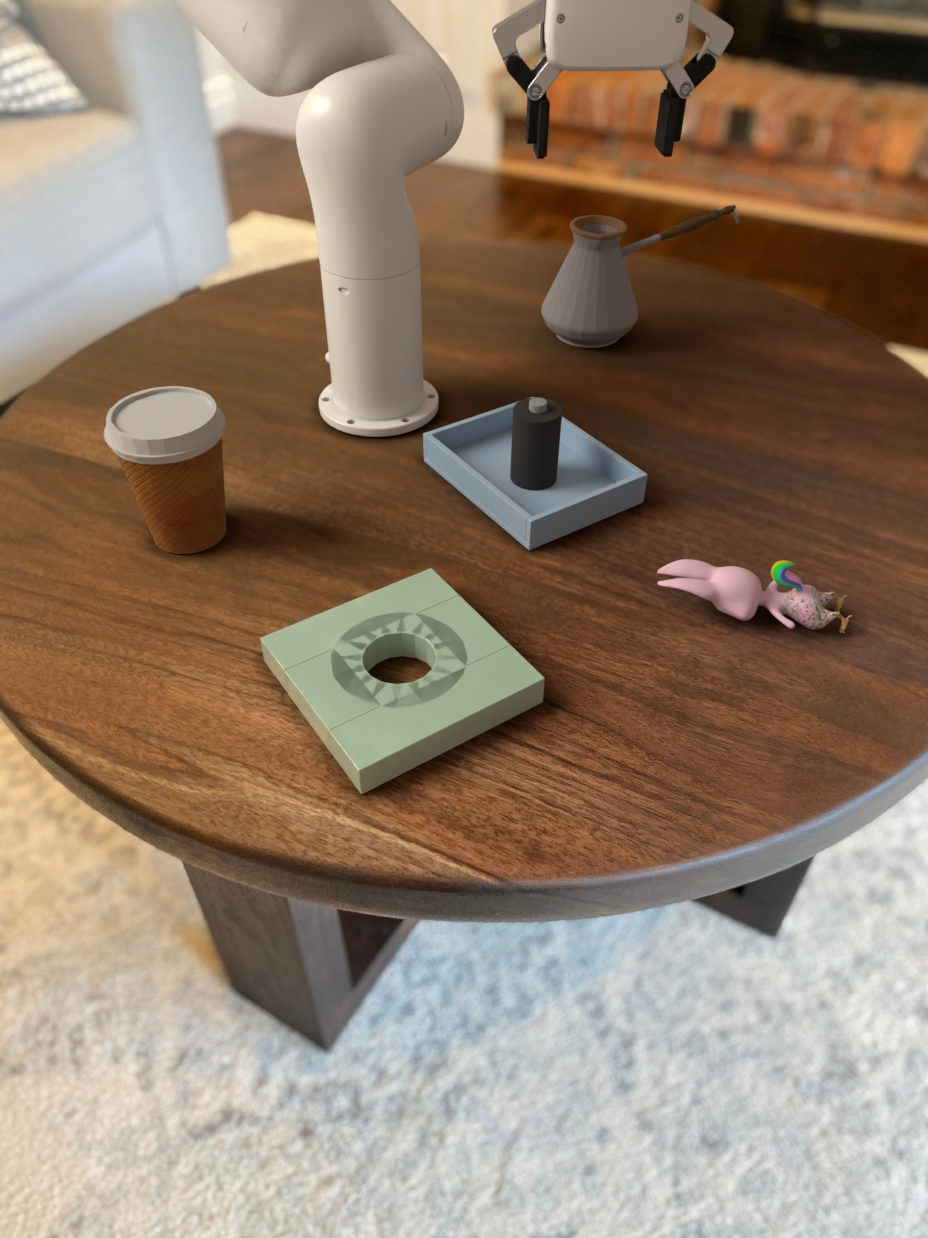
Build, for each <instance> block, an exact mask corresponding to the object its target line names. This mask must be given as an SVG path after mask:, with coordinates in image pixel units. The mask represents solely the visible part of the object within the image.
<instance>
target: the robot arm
mask: <svg viewBox="0 0 928 1238" xmlns="http://www.w3.org/2000/svg"><path fill="white" fill-rule="evenodd" d="M171 2H172V3H173V4H174V5H175V6H176V8H177V9H178V10H179V11H180V12H181V13H182V15H183V16H184V17H185V18H186V19H187V20H188V21H189V22H190V23H191V24H192V25H193V27H195V28H196V30H197V31H198V32H199V33H200V34H201V35H202V36H203V37H204V38H205V39H206V40H207V41H208V43H210V44H211V46H213V48H214V49H215V50H216V51H217V52H218V53H219V54H220V55H221V57H223V58H224V59H225V60H226V62H227V63H228V64H229V65H230V66H231V67H232V68H233V69H234V70H235V71H236V72H237V73H238V74H239V75H240V76H241V77H242V78H243V80H244V81H246V82H247V83H248V84H249V85H250V86H252V88H254V89H255V90H256V91H258V92H259V93H261V94H263V95H266V96H269V97H274V98H275V97H276V98H281V97H288V96H289V97H290V96H292V95H297V94H300V93H303V92H306V91H308V93H307V95H306V96H305V98H303V101H302V103H301V105H300V107H299V110H298V113H297V117H296V123H295V140H296V141H295V142H296V147H297V153H298V157H299V160H300V165H301V169H302V171H303V176H304V179H305V182H306V185H307V189H308V194H309V197H310V203H311V207H312V213H313V218H314V219H313V220H314V226H315V233H316V240H317V241H316V242H317V250H318V261H319V269H320V279H321V288H322V298H323V300H322V301H323V310H324V319H325V320H324V321H325V329H326V330H325V331H326V340H327V350H328V351H327V352H326V353H325V356H324V359H325V361H326V362H327V363H328V364H329V371H330V380H331V381H330V383H329V384H328V385H327V386H326V387H325V388H324V389H323V390H322V392H321V393H320V395H319V397H318V410H319V415H320V416H321V418H322V420H323V421H324V422H326V424H327V425H329V426H330V427H332V428H334V429H335V430H338V431H340V432H343V433H345V434H349V435H353V436H358V437H359V436H360V437H367V438H372V437H373V438H382V437H384V438H385V437H392V436H393V437H395V436H399V435H403V434H407V433H410V432H413V431H415V430H417V429H420V428H422V427H424V426H425V425H427V424H429V422H430V421H432V419H434V417H435V416H436V415H437V413H438V410H439V406H440V405H439V404H440V403H439V402H440V401H439V400H440V399H439V397H440V396H439V393H438V391H437V389H436V388H435V387H434V385H433V384H431V383H430V382H428V380H426V379H424V360H423V359H424V357H423V354H424V353H423V318H422V316H423V315H422V312H423V311H422V273H421V248H420V247H421V246H420V233H419V228H418V223H417V219H416V215H415V213H414V209H413V208H412V204H411V202H410V200H409V197H408V193H407V191H406V185H405V184H406V183H405V182H406V181H405V180H406V178H407V177H409V176H410V175H412V174H413V173H415V172H417V171H419V170H421V169H423V168H425V167H427V166H430V165H432V164H433V163H435V162H436V161H438V160H440V159H441V158H442V157H444V156H445V155H446V154H448V152H450V151H451V150H452V149H453V147H454V146H455V145H456V143H457V142H458V140H459V139H460V136H461V134H462V131H463V128H464V122H465V103H464V98H463V95H462V91H461V87H460V85H459V83H458V81H457V79H456V77H455V75H454V73H453V71H452V70H451V68H450V67H449V65H448V64H447V63H446V61H445V60H444V59H443V58H442V56H441V55H440V54H439V52H438V51H437V50H436V49H435V48H434V47H433V45H431V43H429V41H428V40H427V39H426V38H425V36H423V35H422V33H420V31H419V30H418V29H417V28H416V27H415V26H414V25H413V24H412V22H410V20H409V19H408V18H407V17H406V16H405V15H404V14H403V13H402V12H401V10H399V8H398V7H397V6H396V5H395V4H394V2H392V1H391V0H171ZM689 24H691V25H693V26H694V27H695V28H697V29H698V30H699V31H701V32H703V33H704V34H705V41H704V42H703V44H702V47H701V48H700V50H699V51H698V52H697V53H696V54H695V55H694V56H693V57H692V58H691V59H690V60H688V62H687V63H686V64H685V65H684V66H683V64H682V63H681V59H682V58H683V55H684V51H685V47H686V43H687V36H688V30H689ZM537 26H539V28H538V42H539V43H538V44H539V49H540V52H542V54H541V56H540V57H539V59H538V60H537V61H536V62H535V64H533V66H532V67H530V66H529V65H528V64H527V63H526V62H525V61H524V59H523V58H522V57H521V55H520V53H519V50H518V48H517V44H516V43H517V40H518V39H519V37H521V36H523V35H524V34H526V33H527V32H529V31H531V30H532V29H534V28H536V27H537ZM734 34H735V30H734V27H733V26H732V25H730V24H729V23H728V22H727V21H724V19H722V18H720V17H719V16H717V15H716V14H714V13H713V12H712V11H710V10H709V9H707V8H706V7H704V6H702V5H701V4H699V3H698V2H696V1H695V0H534V1H532V2H530V3H529V4H527V5H525V6H524V7H522V8H521V9H519V10H517V11H515V12H514V13H512V14H511V15H509V16H507V17H506V18H504V19H502V20H501V21H498V22H497V23H496V24H494V26H492V29H491V35H492V38H493V40H494V43H495V46H496V48H497V50H498V52H499V55H500V57H501V59H502V62H503V64H504V66H505V69H506V71H507V73H508V74H509V75H510V77H511V78H512V79H513V80H514V81H515V82H516V84H517V85H518V86H519V87H520V88H521V90H522V91H524V93H525V94H526V95H527V97H526V116H525V117H526V119H525V142H526V145H532V150H533V152H534V155H535V157H536V159H537V160H544V159H545V158H547V157H548V145H549V130H550V129H549V128H550V111H551V110H550V109H551V102H550V100H549V98H548V96H547V92H548V90H549V88H550V87H551V86H552V85H553V83H554V82H555V81H556V80H557V78H558V77H559V76H560V75H561V73H562V72H563V71H567V72H638V71H639V72H640V71H644V72H645V71H660V72H661V74H662V76H663V77H664V79H665V80H666V82H667V83H666V87H665V88H663V90H662V92H661V93H660V96H659V102H658V104H659V105H658V112H657V120H656V126H655V135H654V147H655V148H656V150H657V151H658V152H659V154H660V155H661V156H663V157H664V158H671V157H673V153H674V152H673V151H674V145H675V143H679V142H680V141H681V138H682V131H683V125H684V118H685V112H686V106H687V105H686V104H687V99H689V98H691V96H692V95H693V94H694V90H695V89H696V88H697V87H698V86H699V85H700V84H701V83H702V82H703V81H704V80H705V79H706V78H707V77H708V76H709V75H710V74H711V73H712V72H713V71H714V70H715V68H716V65H717V62H718V60H719V58H721V57H722V55H723V53H724V52H725V50H726V49H727V47H728V45H729V43H730V42H731V40H732V38H733V36H734ZM309 90H310V91H309Z"/></svg>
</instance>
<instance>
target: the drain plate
mask: <svg viewBox="0 0 928 1238" xmlns="http://www.w3.org/2000/svg"><path fill="white" fill-rule="evenodd" d="M259 641H260V645H261V646H260V647H261V650H262V656H263V661H264V663H265V664H266V666H267V667H268V668H269V670H270V671H271V673H272V674H273V676H274V677H275V678H276V680H277V681H278V682H279V683H280V685H281V687H282V688H283V689H284V690H285V692H286V693H287V694H288V696H289V698H290V699H291V700H292V702H293V703H294V704H295V706H296V707H297V709H298V710H299V711H300V712H301V714H302V716H303V717H304V718H305V719H306V721H307V723H308V724H309V725H310V727H311V728H312V729H313V730H314V732H315V733H316V735H317V736H318V737H319V739H320V740H321V741H322V743H323V744H324V745H325V747H326V748H327V750H328V751H329V752H330V754H331V755H332V756H333V758H334V759H335V760H336V762H337V763H338V765H339V766H340V767H341V769H342V770H343V771H344V773H345V774H346V776H347V778H349V780H350V781H351V782H352V784H353V785H354V787H355V789H357V791H358V793H360V795H364V794H365V793H368V792H369V791H372V790H374V789H375V788H378V787H380V786H381V785H384V784H385V783H387V782H389V781H392V780H393V779H395V778H397V777H399V776H401V775H403V774H405V773H407V772H409V771H411V770H414V769H415V768H416V767H419V766H420V765H423V764H425V763H426V762H428V761H430V760H432V759H435V758H436V757H438V756H440V755H442V754H444V753H446V752H448V751H450V750H452V749H454V748H457V746H460V745H462V744H464V743H466V742H467V741H469V740H471V739H473V738H475V737H477V736H479V735H481V734H483V733H485V732H487V731H489V730H491V729H493V728H495V727H497V726H498V725H501V724H502V723H506V722H507V721H509V720H511V719H513V718H514V717H517V716H519V715H521V714H523V713H524V712H526V711H529V710H530V709H532V708H534V707H536V706H538V705H540V704H542V703H544V692H545V681H546V679H545V676H543V675H542V674H541V672H539V671H538V670H537V669H536V668H535V667H534V666H533V665H532V664H531V663H530V662H529V661H528V660H527V659H526V658H525V657H524V656H523V655H522V654H521V653H520V652H519V651H517V650H516V649H515V648H514V647H513V646H512V645H511V643H509V641H507V639H505V637H503V636H502V635H501V634H500V633H499V632H498V631H497V630H496V629H495V628H494V627H493V626H492V625H491V624H490V623H489V622H488V621H487V620H486V619H485V618H484V617H483V616H481V614H480V613H479V612H478V611H476V610H475V608H473V607H472V606H471V604H469V603H468V602H467V601H466V600H465V599H464V598H463V597H462V596H461V595H460V594H459V593H458V592H457V591H456V590H455V589H454V588H453V587H452V586H451V585H449V583H448V582H446V581H445V580H444V578H442V577H441V576H440V575H439V573H438V572H436V570H434V569H433V568H432V567H429V568H427V569H425V570H422V571H420V572H417V573H415V574H413V575H410V576H408V577H405V578H403V579H401V580H398V581H395V582H393V583H391V584H389V585H386V586H384V587H381V588H379V589H376V590H374V591H371V592H368V593H365V594H363V595H361V596H359V597H357V598H354V599H351V600H349V601H347V602H344V603H342V604H339V605H336V606H335V607H332V608H330V609H327V610H325V611H322V612H320V613H318V614H314V615H312V616H310V617H307V618H305V619H302V620H300V621H298V622H295V623H293V624H291V625H288V626H286V627H283V628H280V629H278V630H275V631H273V632H271V633H268V634H266V635H264V636H261V637H260V638H259ZM399 657H404V658H412V659H416V660H419V661H421V662H422V663H425V664H426V665H428V666H429V667H430V668H431V669H430V670H429V671H428V672H427V673H426V674H425V675H424V676H422V677H420V678H418V679H416V680H414V681H410V682H409V681H408V682H402V683H391V682H387V681H386V682H385V681H381V680H379V679H378V678H376V677H373V676H372V675H371V674H370V673H369V672H370V670H371V669H373V668H374V667H375V666H376V665H377V664H379V663H382V662H383V661H385V660H388V659H391V658H392V659H393V658H399Z"/></svg>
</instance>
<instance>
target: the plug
mask: <svg viewBox="0 0 928 1238" xmlns="http://www.w3.org/2000/svg"><path fill="white" fill-rule="evenodd" d="M527 398H528V399H527ZM527 398H524V399H522V400H518V401H519V402H518V401H517V402H518V403H516V404H515V406H514V408H513V423H512V445H511V467H510V479H511V481H512V482H513V483H514V484H515V485H516V486H518V487H520V488H523V489H526V490H543V489H547V488H549V487H551V486H552V485H554V483H555V482H556V480H557V469H558V457H559V445H560V433H561V421H562V417H563V408H562V406H561V405H560V404H559V403H558V402H556V401H554V400H552V399H548V398H544V397H538V396H537V397H535V398H530V397H527Z"/></svg>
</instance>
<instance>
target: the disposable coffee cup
mask: <svg viewBox="0 0 928 1238" xmlns="http://www.w3.org/2000/svg"><path fill="white" fill-rule="evenodd" d="M225 427H226V415H225V414H224V412H223V410H222V409H221V408H220V407H219V406H218V404H217V402H216V400H215V399H214V398H213V397H212V396H211V395H210V394H209V393H207V392H205V391H204V390H200V389H198V388H195V387H189V386H181V385H169V386H165V385H164V386H157V387H151V388H146V389H143V390H139V391H136V392H134V393H131V394H129V395H127V396H125V397H123V398H121V399H119V400H118V401H116V403H115V404H114V405H113V406H112V407H111V408H109V410H108V412H107V414H106V417H105V426H104V430H103V438H104V441H105V442H106V444H107V445H108V447H109V448H110V449H111V450H112V451H113V453H114V454H115V455H116V457H117V459H118V461H119V464H120V466H121V468H122V470H123V473H124V476H125V477H126V479H127V482H128V484H129V486H130V489H131V491H132V493H133V496H134V498H135V500H136V502H137V504H138V507H139V509H140V512H141V514H142V516H143V518H144V520H145V523H146V525H147V528H148V530H149V531H150V534H151V536H152V539H153V541H154V544H155V545H156V547H158V548H159V549H160V550H162V551H164V552H167V553H171V554H176V555H190V554H197V553H200V552H203V551H206V550H208V549H210V548H212V547H214V546H216V545H217V544H218V543H220V542H221V541H222V539H224V537H225V535H226V533H227V528H228V527H227V514H226V513H227V512H226V494H225V493H226V492H225V475H224V474H225V472H224V455H223V454H224V453H223V434H224V430H225Z"/></svg>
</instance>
